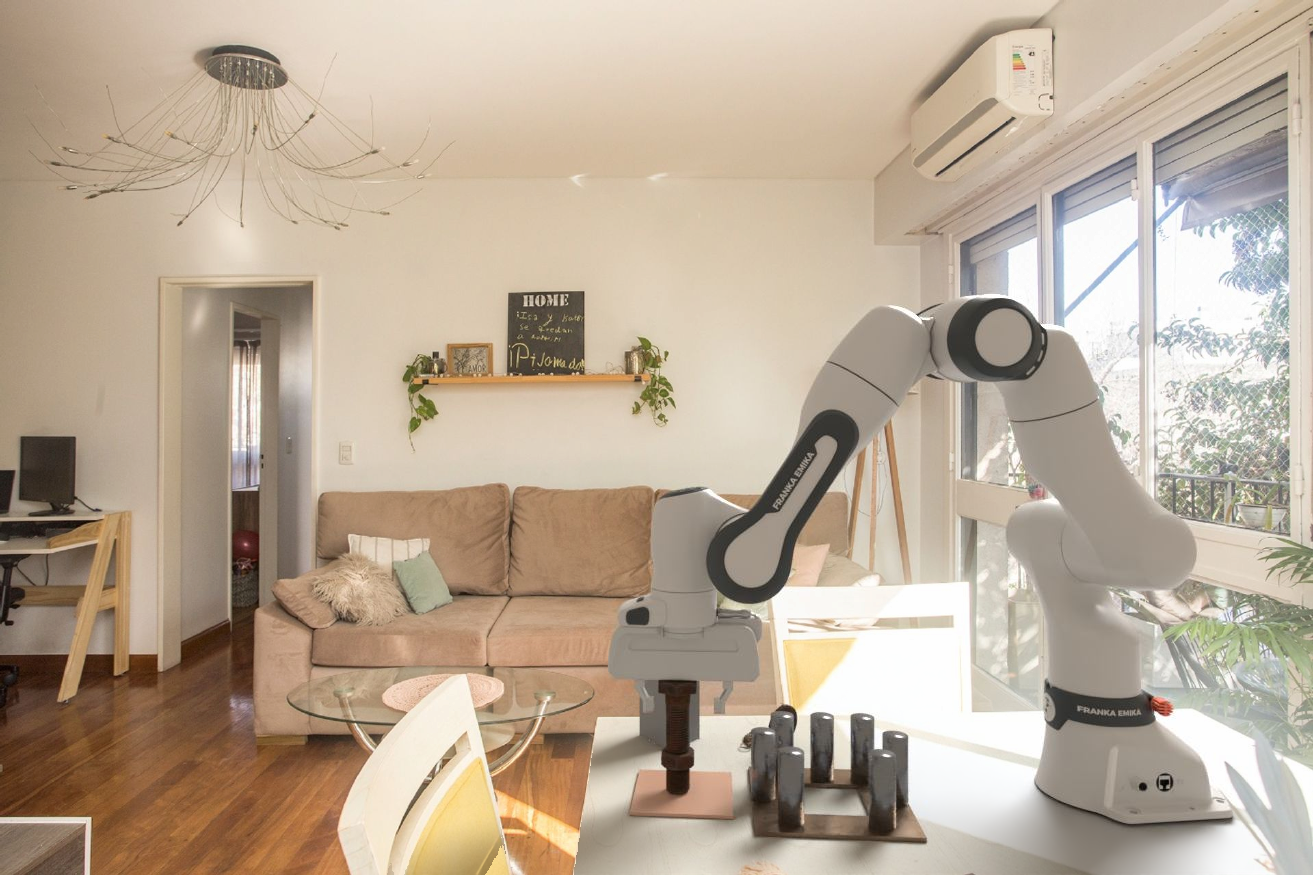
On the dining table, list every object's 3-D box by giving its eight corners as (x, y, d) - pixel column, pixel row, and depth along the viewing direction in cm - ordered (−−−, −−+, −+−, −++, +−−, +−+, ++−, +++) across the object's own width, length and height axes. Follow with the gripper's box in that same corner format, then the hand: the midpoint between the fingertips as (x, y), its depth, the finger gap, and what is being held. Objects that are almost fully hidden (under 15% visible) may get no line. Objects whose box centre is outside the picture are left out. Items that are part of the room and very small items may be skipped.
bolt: (696, 801, 102) (696, 685, 102) (657, 800, 102) (657, 684, 103) (697, 782, 108) (697, 672, 108) (660, 780, 108) (660, 671, 108)
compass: (760, 734, 127) (760, 688, 127) (799, 748, 121) (799, 700, 121) (726, 747, 122) (726, 699, 122) (766, 762, 116) (766, 713, 116)
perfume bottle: (639, 738, 125) (639, 624, 125) (673, 729, 129) (673, 619, 129) (665, 751, 120) (665, 632, 120) (699, 741, 124) (699, 626, 124)
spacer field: (891, 774, 111) (891, 710, 112) (927, 841, 93) (927, 765, 93) (747, 769, 113) (747, 706, 113) (754, 835, 94) (754, 759, 94)
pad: (731, 774, 111) (731, 772, 111) (733, 818, 98) (733, 815, 98) (639, 772, 112) (639, 769, 112) (629, 815, 99) (629, 811, 99)
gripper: (760, 604, 108) (761, 705, 108) (612, 602, 109) (612, 702, 109) (763, 614, 101) (763, 722, 101) (605, 612, 103) (606, 718, 103)
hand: (684, 712), depth 105 cm, fingers open, 8 cm apart
